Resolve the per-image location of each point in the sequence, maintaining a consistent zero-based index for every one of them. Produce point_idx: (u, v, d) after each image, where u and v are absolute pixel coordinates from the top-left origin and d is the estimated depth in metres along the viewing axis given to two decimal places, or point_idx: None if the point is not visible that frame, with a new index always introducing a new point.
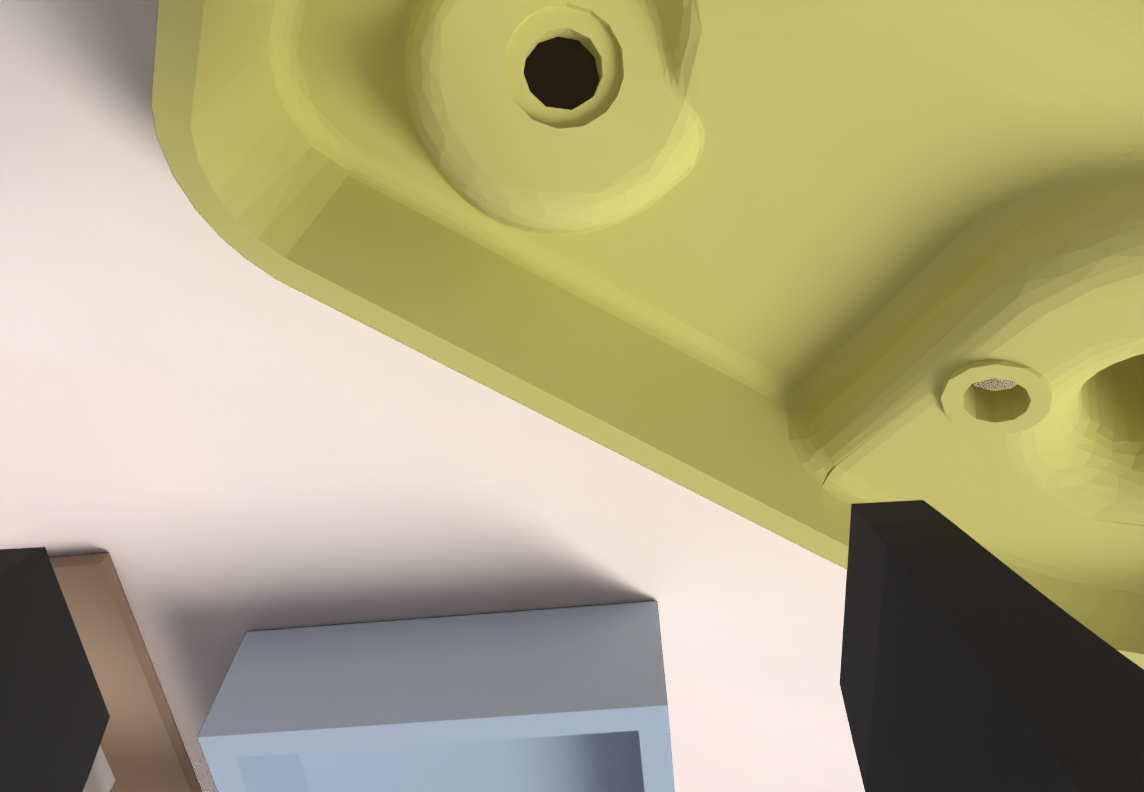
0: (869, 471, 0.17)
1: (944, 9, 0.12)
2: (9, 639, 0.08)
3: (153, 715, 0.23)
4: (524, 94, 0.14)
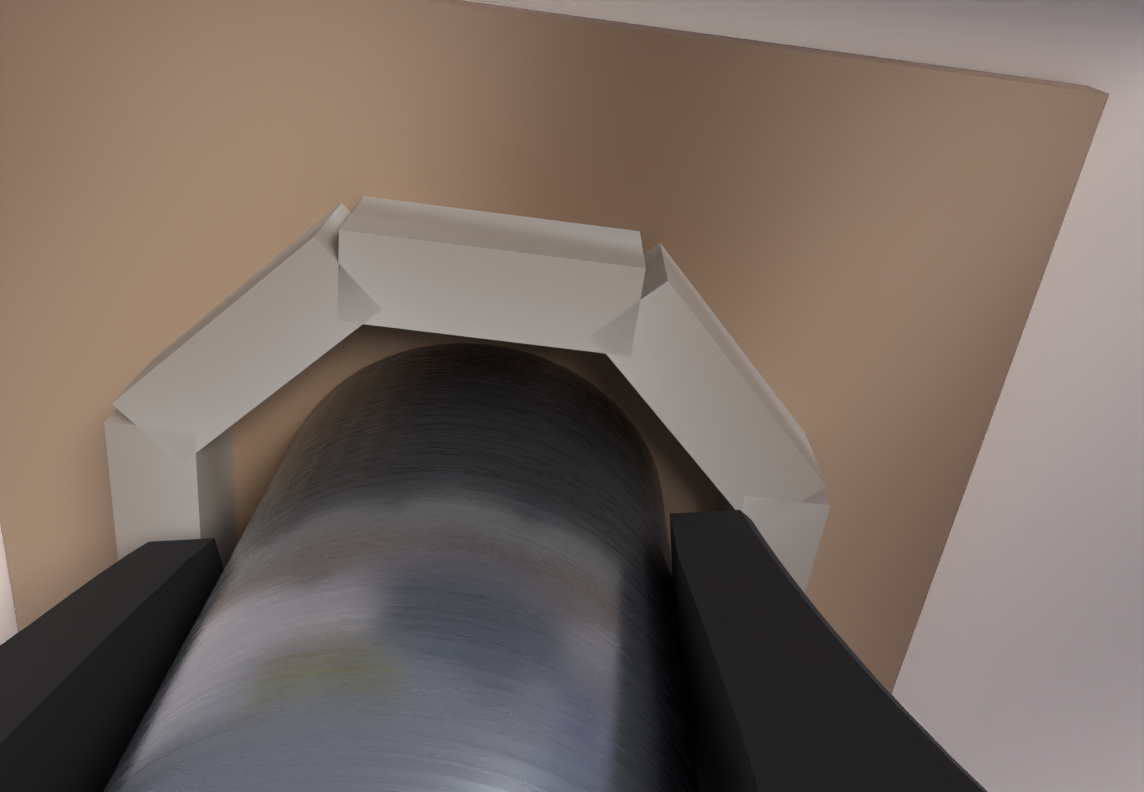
0: None
1: None
2: None
3: (435, 23, 0.08)
4: None
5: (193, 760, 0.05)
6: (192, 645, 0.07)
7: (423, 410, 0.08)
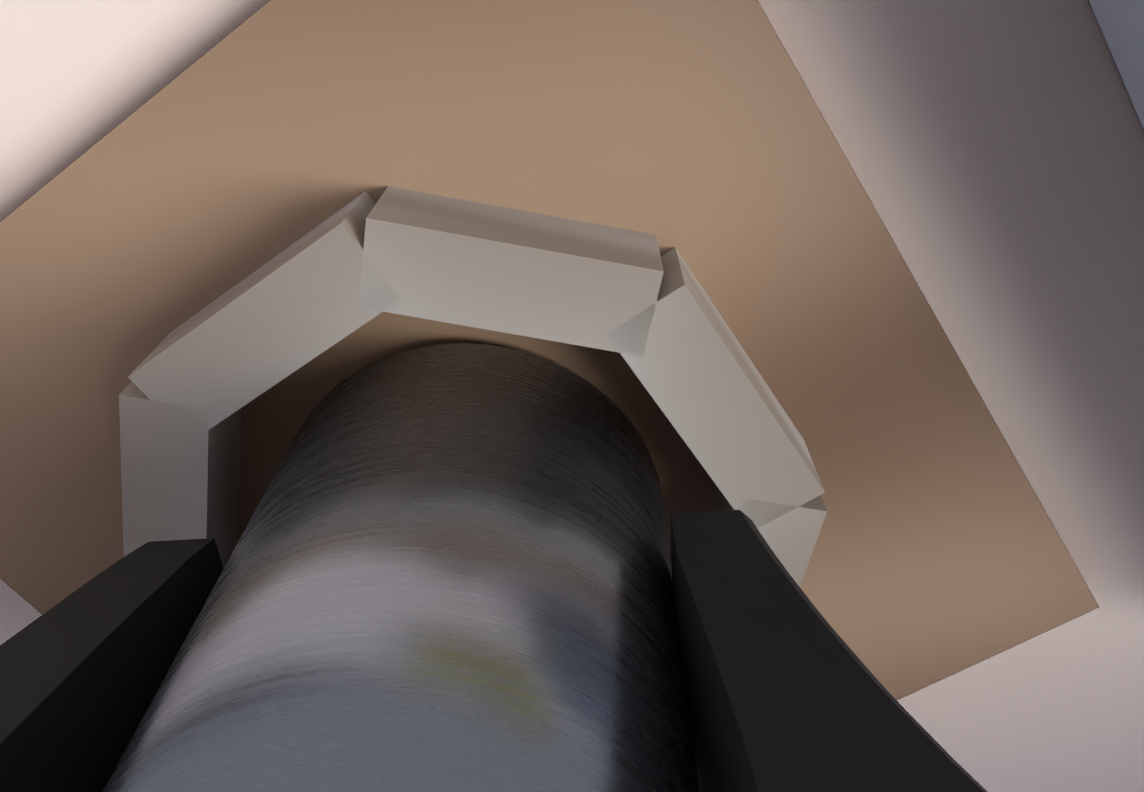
0: None
1: None
2: None
3: (849, 203, 0.09)
4: None
5: (194, 762, 0.05)
6: (192, 645, 0.07)
7: (423, 410, 0.08)
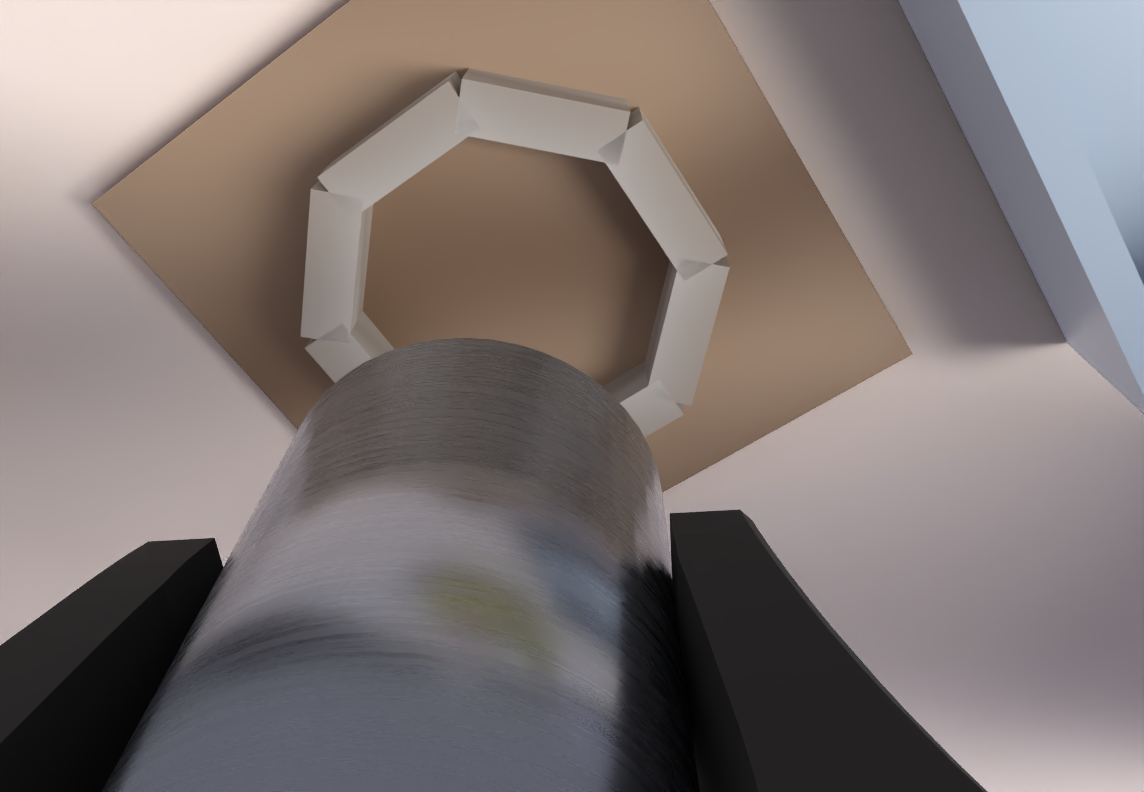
0: None
1: None
2: None
3: (742, 80, 0.15)
4: None
5: (200, 745, 0.05)
6: (197, 633, 0.07)
7: (424, 403, 0.08)
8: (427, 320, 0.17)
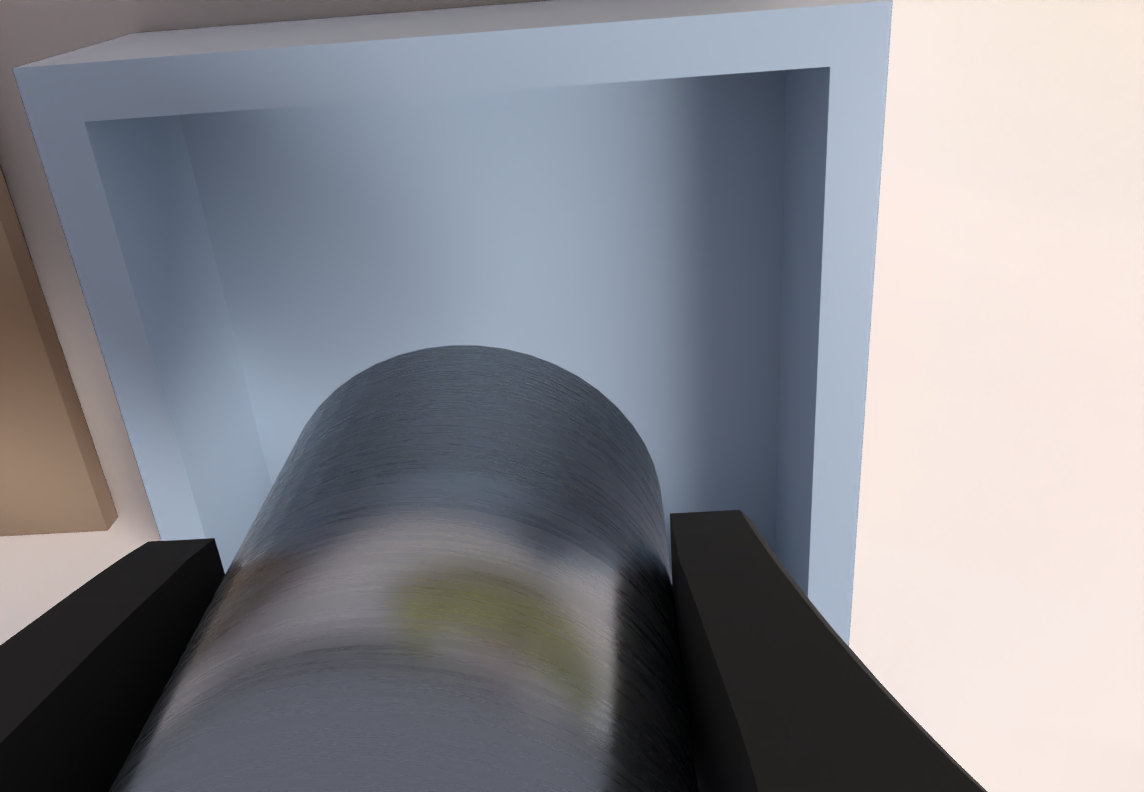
0: None
1: None
2: (191, 630, 0.08)
3: None
4: None
5: (221, 752, 0.05)
6: (209, 633, 0.07)
7: (440, 411, 0.08)
8: None
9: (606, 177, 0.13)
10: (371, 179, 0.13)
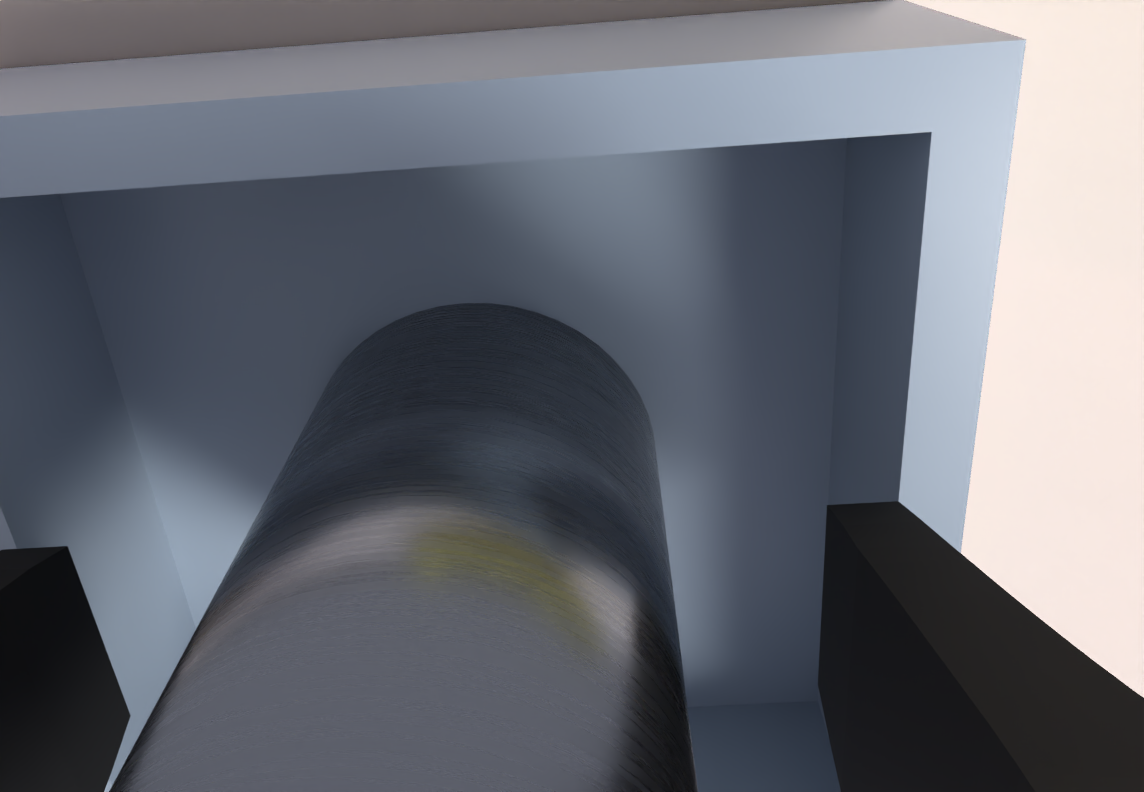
0: None
1: None
2: (34, 638, 0.08)
3: None
4: None
5: (280, 612, 0.06)
6: (259, 536, 0.08)
7: (455, 356, 0.09)
8: None
9: (611, 255, 0.10)
10: (306, 258, 0.10)
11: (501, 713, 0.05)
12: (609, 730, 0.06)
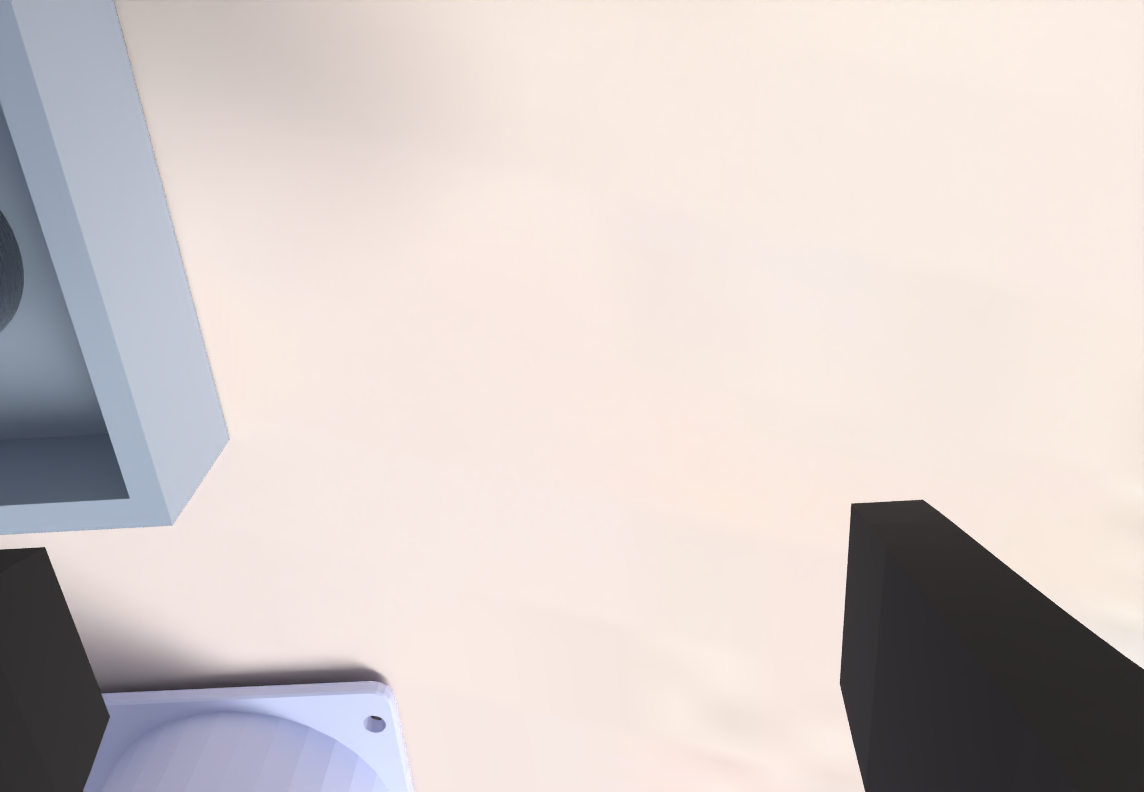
0: None
1: None
2: (9, 639, 0.08)
3: None
4: None
5: None
6: None
7: None
8: None
9: None
10: None
11: None
12: None
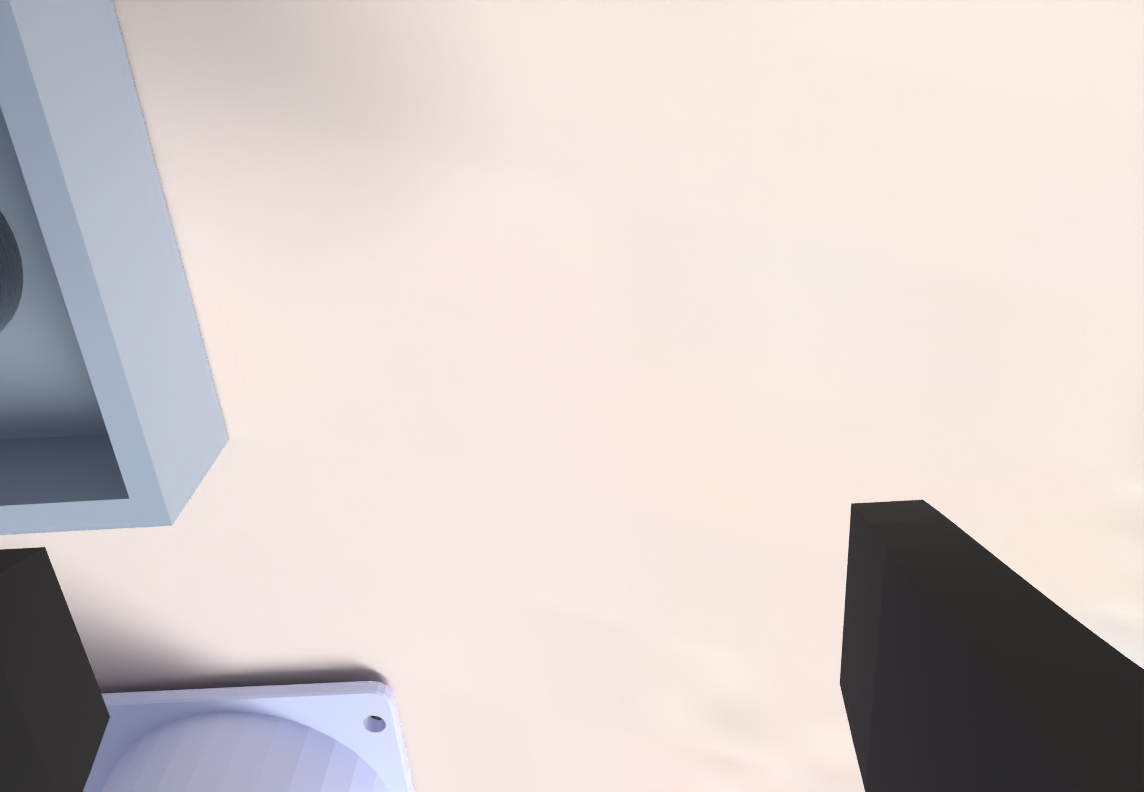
0: None
1: None
2: (9, 639, 0.08)
3: None
4: None
5: None
6: None
7: None
8: None
9: None
10: None
11: None
12: None
